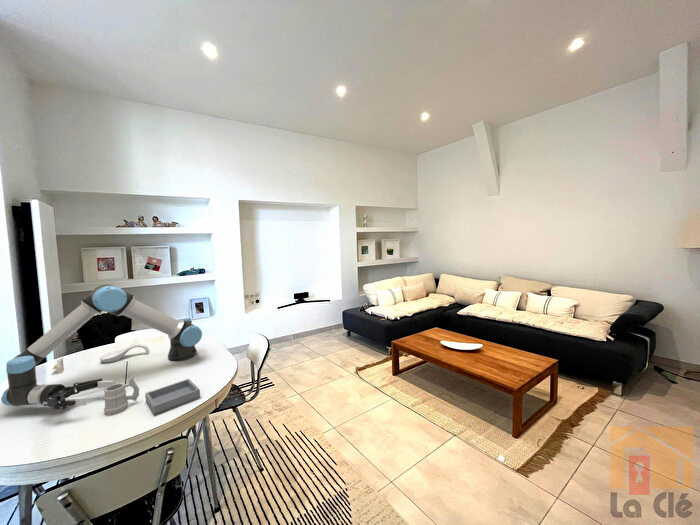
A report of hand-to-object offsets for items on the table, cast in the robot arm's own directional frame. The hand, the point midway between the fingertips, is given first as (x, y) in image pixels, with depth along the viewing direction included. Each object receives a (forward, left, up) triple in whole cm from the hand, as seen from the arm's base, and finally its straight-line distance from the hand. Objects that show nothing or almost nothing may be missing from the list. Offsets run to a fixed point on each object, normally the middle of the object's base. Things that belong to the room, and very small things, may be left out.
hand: (100, 392), depth 116 cm
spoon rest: (-16, -62, -8) cm, 64 cm away
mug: (-6, +6, -7) cm, 11 cm away
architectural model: (+12, -66, -8) cm, 67 cm away
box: (-22, +16, -7) cm, 28 cm away
